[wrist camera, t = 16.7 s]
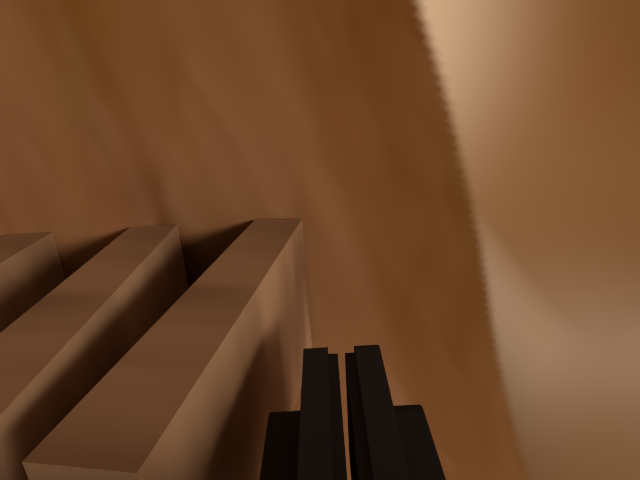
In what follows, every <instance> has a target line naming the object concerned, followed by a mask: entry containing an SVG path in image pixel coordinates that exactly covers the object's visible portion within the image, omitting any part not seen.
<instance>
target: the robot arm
mask: <svg viewBox="0 0 640 480" xmlns="http://www.w3.org/2000/svg"><path fill="white" fill-rule="evenodd" d="M345 363H346V387H347V411H348V435H349V456H350V469H351V480H446V479H445V476H444V473H443V470H442V467H441V463H440V460H439V457H438V454H437V451H436V448H435V445H434V442H433V438H432V435H431V432H430V429H429V426H428V423H427V420H426V417H425V413H424V411H423V408H422V406H421V405H403V406H393V403H392V399H391V394H390V390H389V386H388V381H387V377H386V373H385V368H384V364H383V360H382V356H381V351H380V347H379V345H364V346H354V353H345ZM259 480H347V471H346V458H345V445H344V432H343V419H342V406H341V393H340V380H339V366H338V354H328V347H325V348H306V349H303V366H302V387H301V408H300V411H282V412H270V413H269V416H268V422H267V429H266V436H265V443H264V450H263V457H262V464H261V471H260V479H259Z"/></svg>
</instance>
